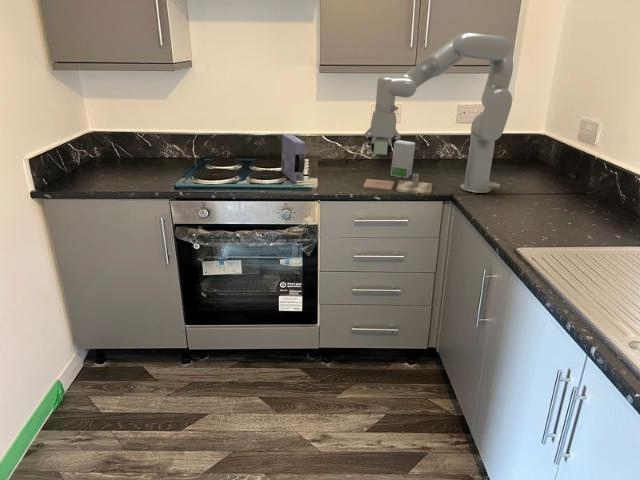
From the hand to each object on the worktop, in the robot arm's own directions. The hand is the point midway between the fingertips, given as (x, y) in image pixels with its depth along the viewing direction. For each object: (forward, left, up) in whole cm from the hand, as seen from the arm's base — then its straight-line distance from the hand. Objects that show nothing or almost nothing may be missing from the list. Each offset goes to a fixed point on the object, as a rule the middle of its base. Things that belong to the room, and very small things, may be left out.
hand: (380, 153), depth 206 cm
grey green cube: (0, 0, 0) cm, 0 cm away
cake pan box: (+38, +1, -14) cm, 40 cm away
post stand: (-15, 0, -14) cm, 21 cm away
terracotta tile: (0, 0, -14) cm, 14 cm away
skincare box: (-8, -19, -14) cm, 25 cm away
